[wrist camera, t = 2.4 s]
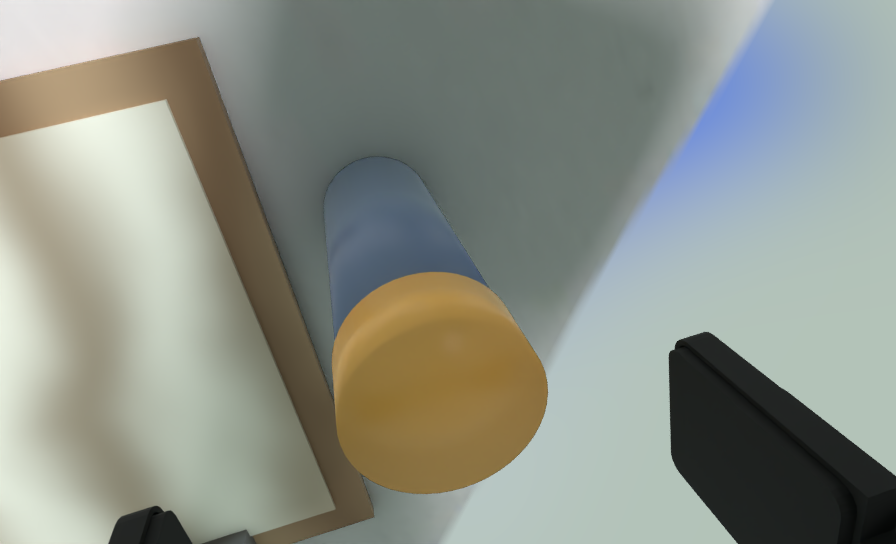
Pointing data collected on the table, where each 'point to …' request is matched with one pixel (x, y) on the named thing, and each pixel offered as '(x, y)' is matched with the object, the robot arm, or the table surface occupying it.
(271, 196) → the table surface
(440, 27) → the table surface
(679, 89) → the table surface
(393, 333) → the cylinder
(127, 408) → the clipboard
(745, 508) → the robot arm
